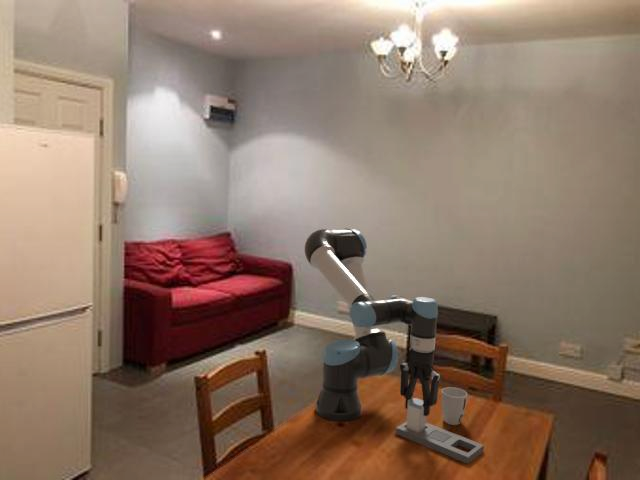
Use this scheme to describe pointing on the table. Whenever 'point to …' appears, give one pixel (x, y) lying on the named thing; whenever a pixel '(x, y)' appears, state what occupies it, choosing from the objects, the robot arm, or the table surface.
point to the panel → (442, 441)
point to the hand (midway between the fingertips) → (416, 421)
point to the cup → (453, 404)
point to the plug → (415, 415)
